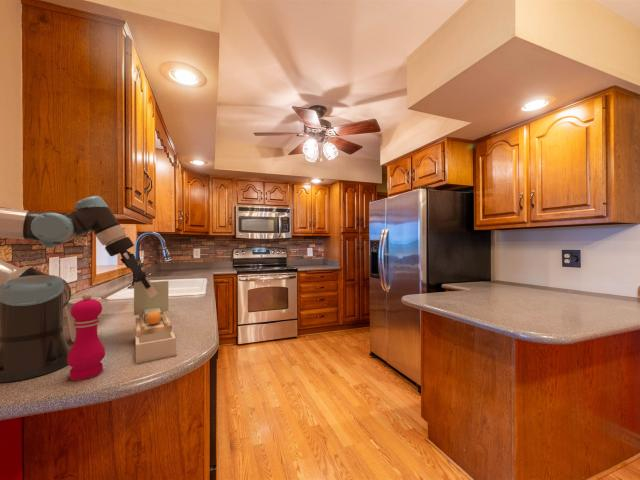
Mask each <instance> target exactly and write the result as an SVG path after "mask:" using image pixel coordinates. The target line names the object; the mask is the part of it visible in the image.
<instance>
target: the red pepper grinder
mask: <svg viewBox="0 0 640 480" xmlns="http://www.w3.org/2000/svg"><path fill="white" fill-rule="evenodd" d="M91 299H94V300H97V301H99V302H100V303H101V305H102V306H103V304H102V303H103V299H102V298H101V297H91ZM81 300H83V298H82V297H81V298H76V299H75V298H74V299H70V300H69V302H68V304H67V305H66V306H65V307H64V308H65V311H66V316H67V323H68V327H69V335H70V339H71V342H72V343H74V341H75V338H76V328H75V327H73V325H74V323H73V322H74V321H75V319H74V318H73V317H72V316H71V308H72V306H73V305H74V304H75V303H76V302H78V301H81ZM98 317H99V318H100V315H99V316H98ZM98 327H99V324H98V325H97V329H98Z"/></svg>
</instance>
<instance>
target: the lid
mask: <svg viewBox="0 0 640 480" xmlns="http://www.w3.org/2000/svg"><path fill="white" fill-rule="evenodd" d="M150 282H151V284H152V285H153V287H154V288H155V289H156V291H157V292H158V294H157V295H155V296H154V297H152V298H149V296H148V295H147V293H146V292H145V290H144V289H143V288H142V286H141V285H140V283H139V282H137V283H136V282H133V316H139V315H142V314H143V317H144V320H145V323H147V321H146V317H147V315H148V314H149V313H150V312H153V311H156V312H159V313H160V315H161V312H163V313H165V312H169V280H158V281H157V280H156V281H150ZM160 321H161V320H160Z"/></svg>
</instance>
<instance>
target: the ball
mask: <svg viewBox="0 0 640 480" xmlns="http://www.w3.org/2000/svg"><path fill="white" fill-rule="evenodd" d="M160 320H161V315H160V313H159V312H156V311H153V312H150V313H149V314H148V315H147V317H146V321H147V323H149V324H151V325H155V324H157V323H158V322H159V321H160Z"/></svg>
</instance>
